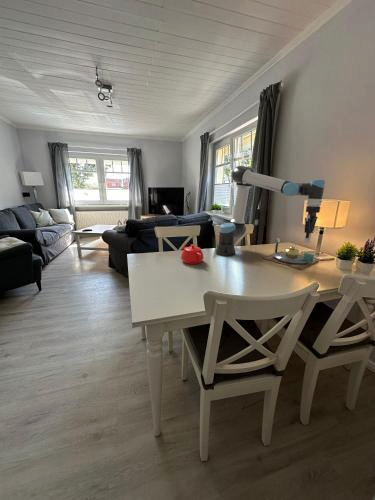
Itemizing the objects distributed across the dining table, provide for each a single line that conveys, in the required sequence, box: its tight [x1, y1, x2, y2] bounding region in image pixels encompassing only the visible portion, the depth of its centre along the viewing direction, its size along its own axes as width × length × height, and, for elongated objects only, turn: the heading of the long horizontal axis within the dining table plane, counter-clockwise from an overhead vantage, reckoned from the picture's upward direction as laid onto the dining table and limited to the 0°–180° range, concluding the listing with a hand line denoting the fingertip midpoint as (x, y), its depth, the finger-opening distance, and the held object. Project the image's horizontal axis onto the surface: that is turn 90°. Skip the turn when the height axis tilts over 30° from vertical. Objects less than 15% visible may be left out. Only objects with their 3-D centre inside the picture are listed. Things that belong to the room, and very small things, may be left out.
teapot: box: [180, 243, 204, 265], centre depth 146 cm, size 25×16×12 cm, turn 31°
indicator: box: [274, 238, 281, 253], centre depth 166 cm, size 2×2×11 cm
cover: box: [284, 246, 300, 258], centre depth 153 cm, size 9×9×7 cm
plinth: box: [261, 250, 320, 271], centre depth 154 cm, size 28×28×1 cm
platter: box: [272, 251, 315, 264], centre depth 152 cm, size 27×24×6 cm
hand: (306, 242), depth 138 cm, fingers closed
